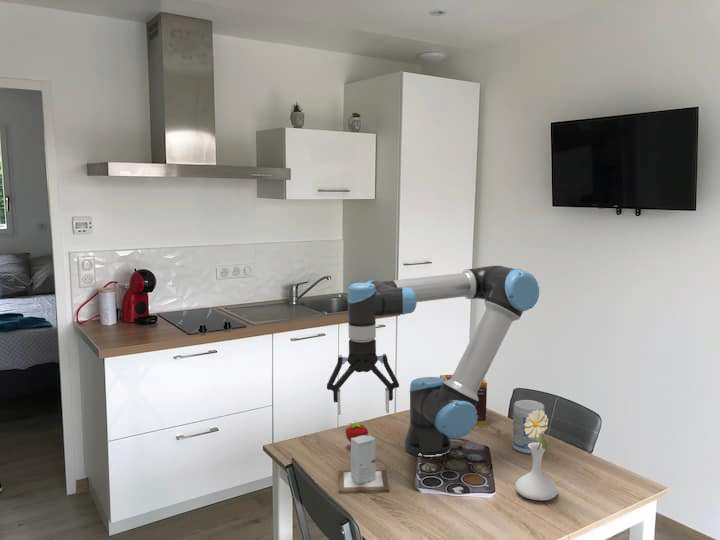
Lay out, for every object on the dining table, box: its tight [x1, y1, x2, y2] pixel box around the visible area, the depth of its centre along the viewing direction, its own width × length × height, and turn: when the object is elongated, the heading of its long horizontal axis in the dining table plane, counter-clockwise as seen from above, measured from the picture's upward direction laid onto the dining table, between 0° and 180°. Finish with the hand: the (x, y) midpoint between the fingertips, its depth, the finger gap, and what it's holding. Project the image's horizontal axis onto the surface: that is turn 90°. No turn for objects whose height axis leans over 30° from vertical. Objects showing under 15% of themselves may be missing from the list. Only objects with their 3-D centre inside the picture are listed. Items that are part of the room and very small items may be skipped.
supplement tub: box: [511, 399, 545, 454], centre depth 193 cm, size 10×10×15 cm
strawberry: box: [345, 421, 369, 444], centre depth 194 cm, size 6×8×10 cm
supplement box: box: [439, 374, 488, 426], centre depth 217 cm, size 10×15×16 cm
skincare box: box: [350, 433, 377, 484], centre depth 171 cm, size 6×4×12 cm
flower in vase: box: [514, 410, 559, 501], centre depth 162 cm, size 13×11×25 cm
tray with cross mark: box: [338, 469, 390, 494], centre depth 172 cm, size 14×12×1 cm
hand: (363, 412), depth 170 cm, fingers open, 13 cm apart
